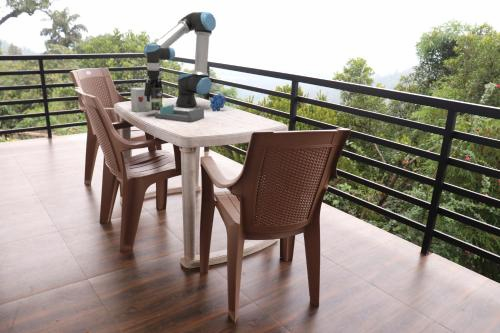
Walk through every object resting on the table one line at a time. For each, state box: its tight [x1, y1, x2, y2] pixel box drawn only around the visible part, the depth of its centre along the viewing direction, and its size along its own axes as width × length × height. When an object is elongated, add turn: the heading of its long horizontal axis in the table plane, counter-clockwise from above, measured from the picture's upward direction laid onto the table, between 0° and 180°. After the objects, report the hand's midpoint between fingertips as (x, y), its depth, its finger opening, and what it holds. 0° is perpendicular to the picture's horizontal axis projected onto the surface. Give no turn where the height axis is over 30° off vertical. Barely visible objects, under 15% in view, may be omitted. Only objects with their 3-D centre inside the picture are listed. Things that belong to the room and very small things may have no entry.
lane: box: [154, 106, 205, 123], centre depth 254 cm, size 25×17×7 cm
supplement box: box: [130, 87, 148, 113], centre depth 273 cm, size 9×9×15 cm
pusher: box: [159, 104, 175, 115], centre depth 257 cm, size 2×13×6 cm, turn 158°
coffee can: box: [146, 86, 164, 112], centre depth 259 cm, size 10×10×14 cm
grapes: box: [209, 93, 227, 112], centre depth 284 cm, size 12×7×12 cm, turn 113°
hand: (154, 105), depth 260 cm, fingers closed on coffee can, 10 cm apart
